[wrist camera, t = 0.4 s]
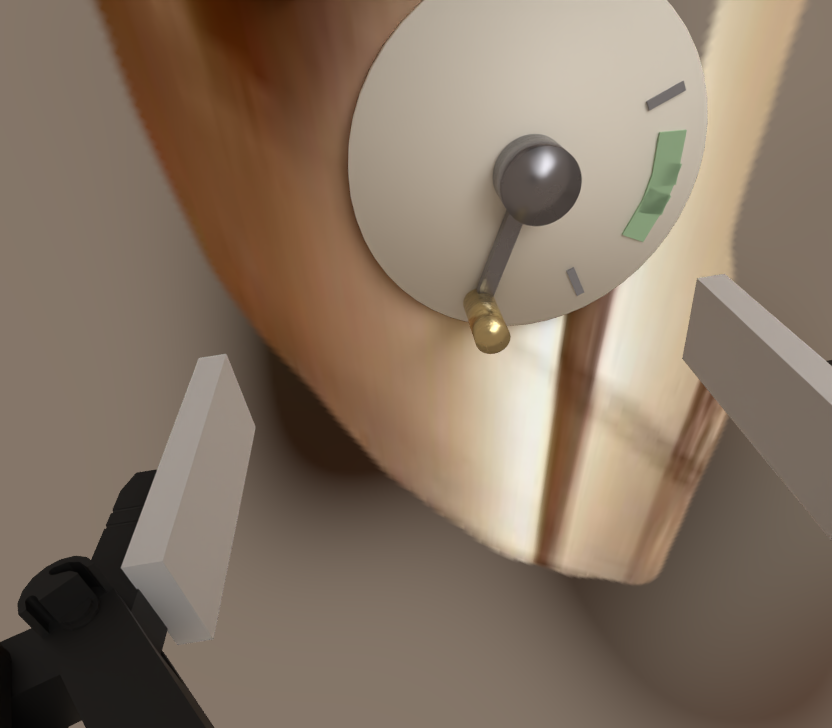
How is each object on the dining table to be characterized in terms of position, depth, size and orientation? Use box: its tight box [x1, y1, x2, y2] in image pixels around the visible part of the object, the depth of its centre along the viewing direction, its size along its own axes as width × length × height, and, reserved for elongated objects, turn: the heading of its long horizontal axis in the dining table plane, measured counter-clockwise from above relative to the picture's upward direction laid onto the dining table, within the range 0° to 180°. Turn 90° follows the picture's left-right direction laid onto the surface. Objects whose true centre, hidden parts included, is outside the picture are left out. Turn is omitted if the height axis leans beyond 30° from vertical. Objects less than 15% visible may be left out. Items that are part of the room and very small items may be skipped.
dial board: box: [348, 0, 708, 326], centre depth 39 cm, size 24×24×1 cm
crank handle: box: [463, 134, 582, 354], centre depth 38 cm, size 14×5×5 cm, turn 164°
